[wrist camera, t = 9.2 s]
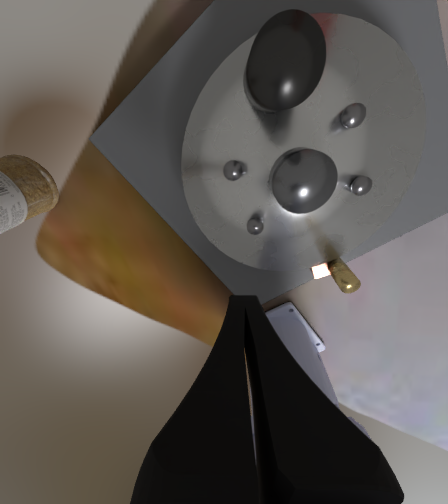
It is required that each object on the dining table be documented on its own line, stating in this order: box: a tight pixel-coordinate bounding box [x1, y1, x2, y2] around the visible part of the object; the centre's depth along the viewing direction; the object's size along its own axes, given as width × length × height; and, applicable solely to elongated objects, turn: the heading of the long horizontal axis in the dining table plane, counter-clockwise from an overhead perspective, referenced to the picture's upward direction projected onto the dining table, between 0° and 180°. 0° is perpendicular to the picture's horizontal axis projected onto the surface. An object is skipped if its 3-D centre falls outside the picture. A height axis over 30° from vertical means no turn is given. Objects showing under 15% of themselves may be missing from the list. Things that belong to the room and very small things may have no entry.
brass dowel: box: [327, 257, 361, 293], centre depth 17 cm, size 1×1×4 cm
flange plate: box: [181, 9, 426, 279], centre depth 13 cm, size 16×15×5 cm
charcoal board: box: [89, 0, 448, 305], centre depth 16 cm, size 20×20×1 cm
